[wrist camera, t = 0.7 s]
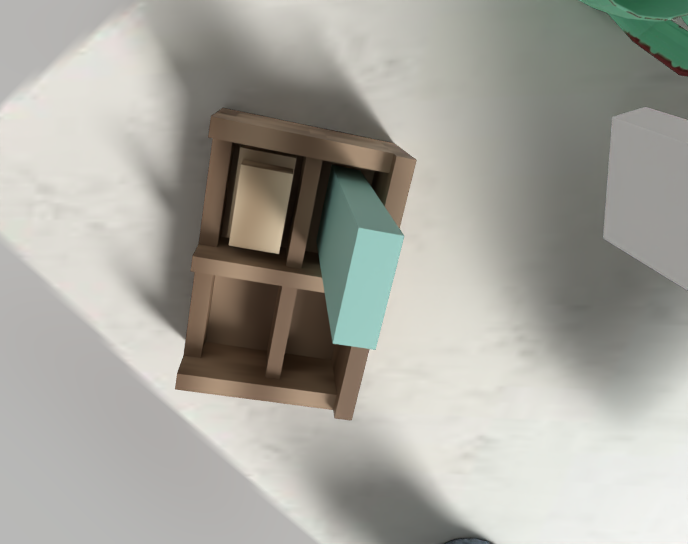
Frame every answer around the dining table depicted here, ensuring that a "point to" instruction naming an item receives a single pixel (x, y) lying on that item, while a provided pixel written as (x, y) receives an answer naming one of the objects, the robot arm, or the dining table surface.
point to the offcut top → (260, 206)
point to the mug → (652, 27)
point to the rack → (278, 272)
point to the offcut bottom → (262, 157)
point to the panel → (356, 257)
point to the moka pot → (467, 541)
